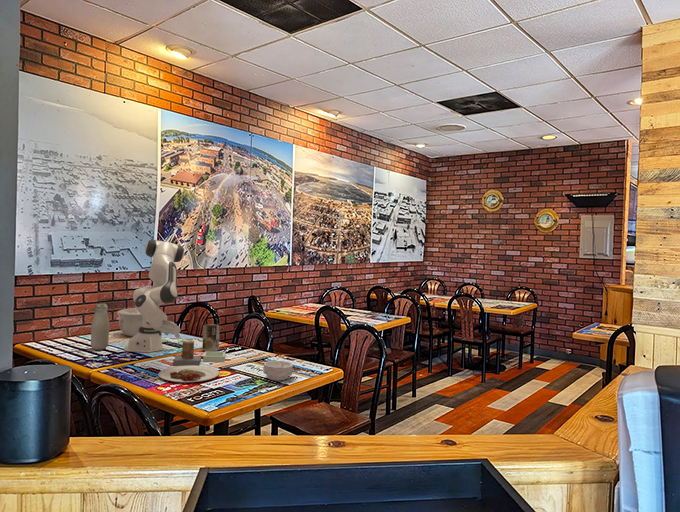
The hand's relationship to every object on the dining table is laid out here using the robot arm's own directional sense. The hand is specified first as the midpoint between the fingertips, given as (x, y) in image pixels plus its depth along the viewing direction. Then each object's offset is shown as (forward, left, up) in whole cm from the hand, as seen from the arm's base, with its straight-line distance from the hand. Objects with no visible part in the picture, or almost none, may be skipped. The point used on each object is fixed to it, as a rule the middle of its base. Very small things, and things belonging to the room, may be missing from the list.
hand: (173, 335), depth 268 cm
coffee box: (+17, +41, -17) cm, 48 cm away
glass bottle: (-48, +38, -17) cm, 64 cm away
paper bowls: (+56, -22, -17) cm, 63 cm away
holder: (+21, +17, -17) cm, 32 cm away
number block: (+7, +7, -14) cm, 17 cm away
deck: (+7, +7, -17) cm, 20 cm away
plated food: (+11, -18, -18) cm, 27 cm away
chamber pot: (-36, +84, -17) cm, 93 cm away
